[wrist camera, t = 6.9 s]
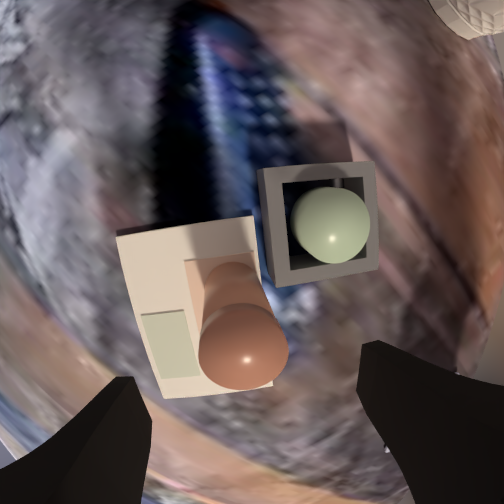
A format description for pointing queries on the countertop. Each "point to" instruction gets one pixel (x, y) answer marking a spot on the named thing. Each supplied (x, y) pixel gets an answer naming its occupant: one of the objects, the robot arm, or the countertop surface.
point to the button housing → (274, 223)
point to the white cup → (471, 16)
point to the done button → (330, 223)
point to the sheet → (181, 293)
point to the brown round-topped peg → (239, 330)
